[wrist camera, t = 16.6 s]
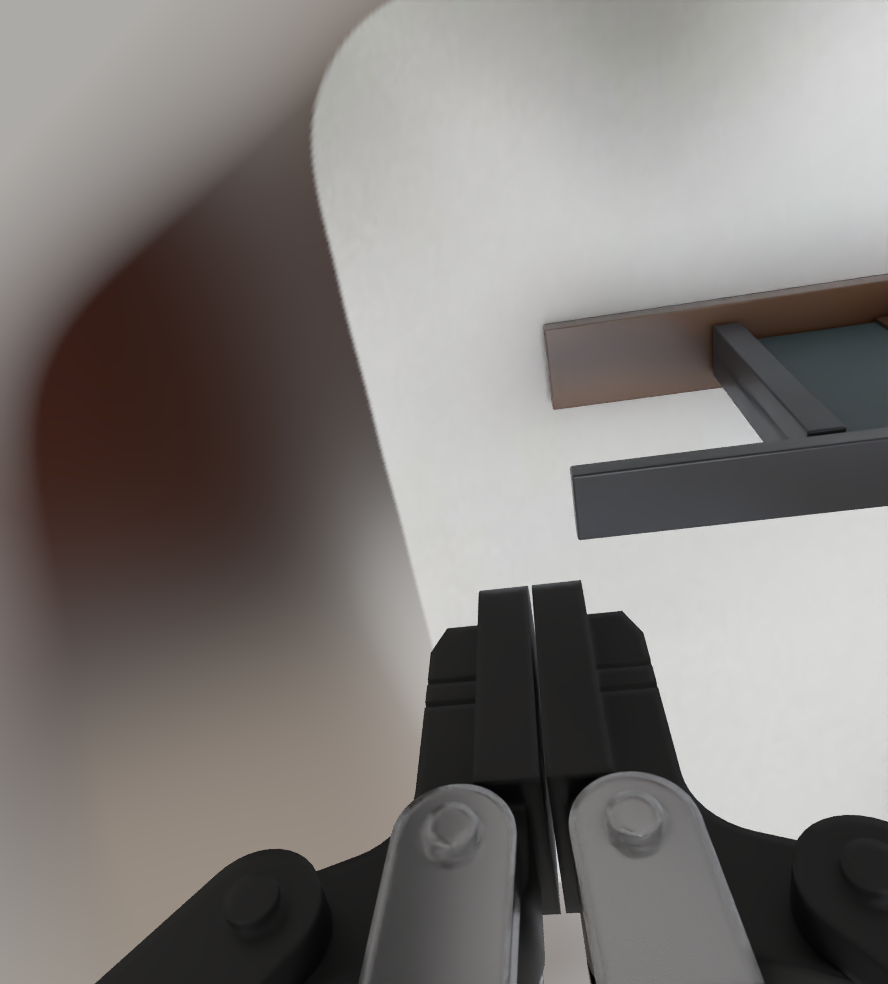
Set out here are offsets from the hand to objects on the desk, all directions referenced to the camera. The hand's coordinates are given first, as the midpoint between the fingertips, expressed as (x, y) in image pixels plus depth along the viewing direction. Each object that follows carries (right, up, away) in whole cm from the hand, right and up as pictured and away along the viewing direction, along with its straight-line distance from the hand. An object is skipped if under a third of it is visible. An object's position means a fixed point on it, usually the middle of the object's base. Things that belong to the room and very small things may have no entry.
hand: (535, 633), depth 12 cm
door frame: (+12, +9, +25) cm, 29 cm away
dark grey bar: (+15, +9, +23) cm, 29 cm away
